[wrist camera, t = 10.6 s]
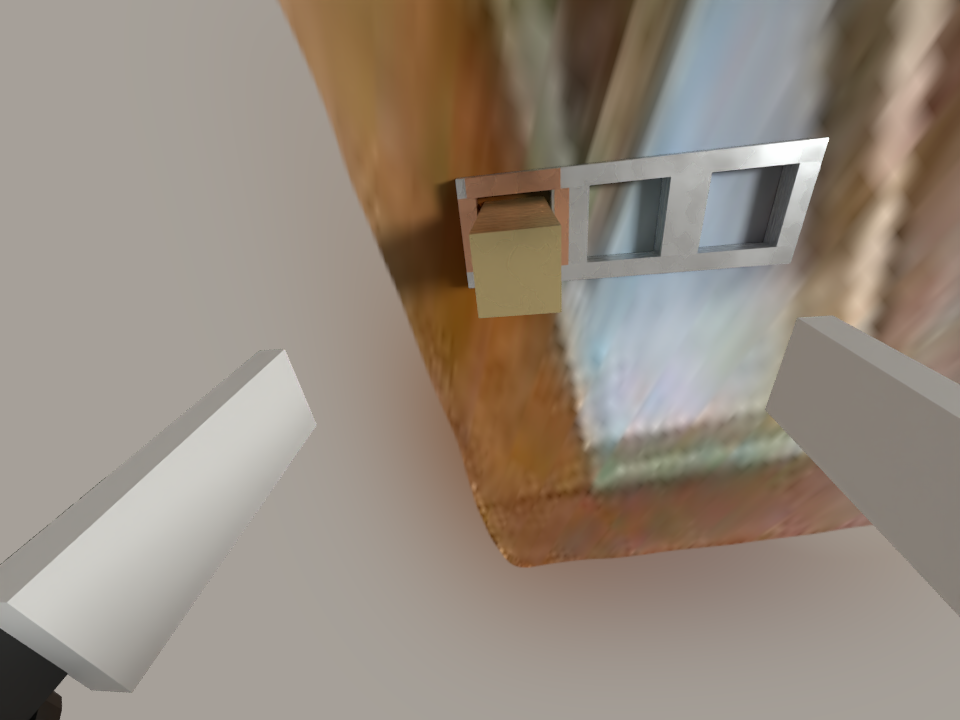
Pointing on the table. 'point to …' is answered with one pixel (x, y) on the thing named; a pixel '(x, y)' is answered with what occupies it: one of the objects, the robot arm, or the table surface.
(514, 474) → the table surface
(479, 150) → the table surface
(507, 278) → the brass post
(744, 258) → the triple square frame
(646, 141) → the table surface
